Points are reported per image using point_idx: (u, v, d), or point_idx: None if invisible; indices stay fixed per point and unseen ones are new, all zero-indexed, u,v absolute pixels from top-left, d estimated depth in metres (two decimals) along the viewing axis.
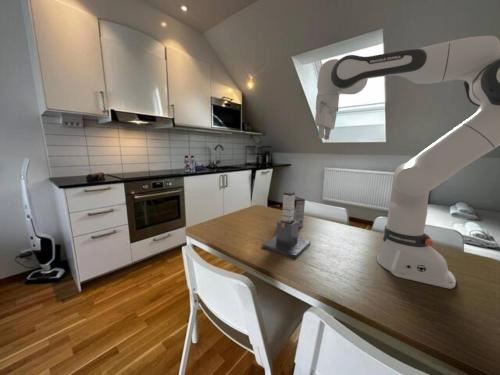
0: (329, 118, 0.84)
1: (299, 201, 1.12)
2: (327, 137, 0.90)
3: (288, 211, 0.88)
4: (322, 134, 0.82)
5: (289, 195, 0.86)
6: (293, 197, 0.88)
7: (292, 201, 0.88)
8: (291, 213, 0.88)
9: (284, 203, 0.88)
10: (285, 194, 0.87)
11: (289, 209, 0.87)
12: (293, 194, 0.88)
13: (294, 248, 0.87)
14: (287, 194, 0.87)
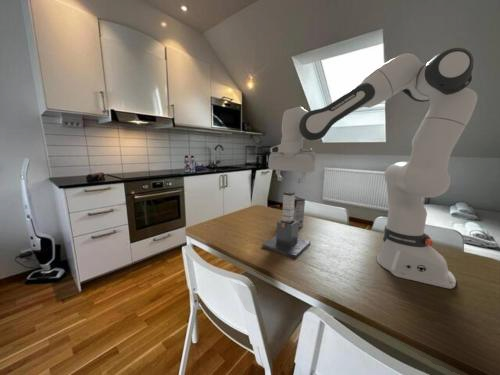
0: None
1: (299, 201, 1.12)
2: (281, 178, 0.90)
3: (288, 211, 0.88)
4: (302, 179, 0.84)
5: (289, 195, 0.86)
6: (293, 197, 0.88)
7: (292, 201, 0.88)
8: (291, 213, 0.88)
9: (284, 203, 0.88)
10: (285, 194, 0.87)
11: (289, 209, 0.87)
12: (293, 194, 0.88)
13: (294, 248, 0.87)
14: (287, 194, 0.87)
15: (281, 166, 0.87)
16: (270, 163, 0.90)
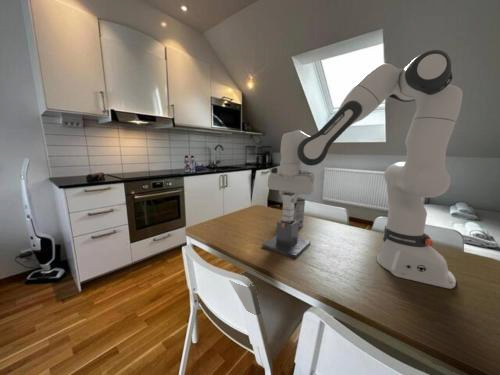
0: None
1: (299, 201, 1.12)
2: None
3: (288, 211, 0.88)
4: (296, 199, 0.87)
5: (289, 195, 0.86)
6: (293, 197, 0.88)
7: None
8: (291, 213, 0.88)
9: (284, 203, 0.88)
10: (285, 194, 0.87)
11: (289, 209, 0.87)
12: (293, 194, 0.88)
13: (294, 248, 0.87)
14: (287, 194, 0.87)
15: (280, 186, 0.88)
16: (269, 183, 0.91)
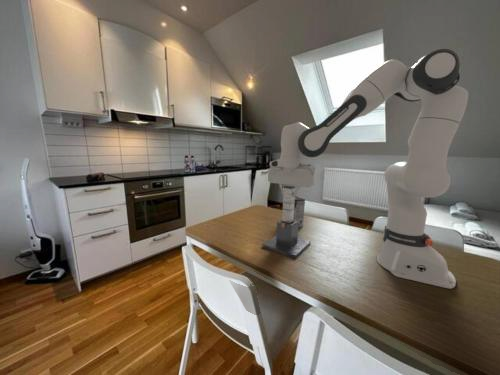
0: None
1: (299, 201, 1.12)
2: None
3: (288, 204, 0.87)
4: (296, 192, 0.87)
5: (289, 188, 0.86)
6: (293, 190, 0.87)
7: None
8: (291, 206, 0.88)
9: (284, 196, 0.88)
10: (285, 187, 0.87)
11: (289, 202, 0.87)
12: (293, 187, 0.87)
13: (294, 248, 0.87)
14: (287, 187, 0.86)
15: (280, 180, 0.88)
16: (269, 176, 0.91)
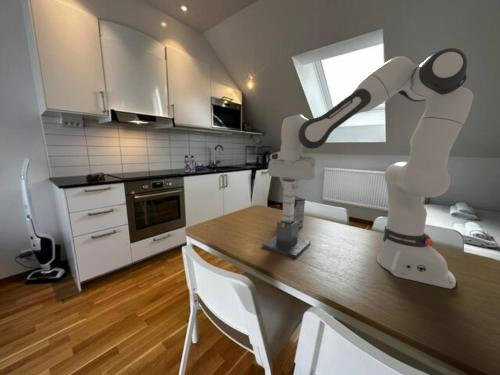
0: None
1: (299, 201, 1.12)
2: None
3: (289, 198, 0.86)
4: (297, 185, 0.86)
5: (290, 181, 0.85)
6: (294, 183, 0.87)
7: None
8: (292, 200, 0.87)
9: (285, 190, 0.87)
10: (286, 180, 0.86)
11: (290, 196, 0.86)
12: (294, 180, 0.87)
13: (294, 248, 0.87)
14: (288, 180, 0.86)
15: (280, 173, 0.87)
16: (270, 170, 0.90)
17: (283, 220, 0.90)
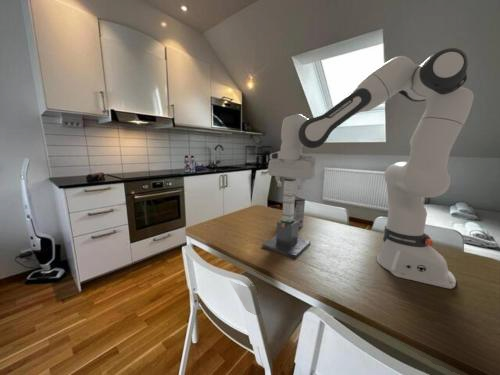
0: None
1: (299, 201, 1.12)
2: (281, 184, 0.90)
3: (289, 197, 0.86)
4: None
5: (290, 181, 0.85)
6: (294, 183, 0.87)
7: (293, 187, 0.87)
8: (292, 199, 0.87)
9: (285, 189, 0.87)
10: (286, 180, 0.86)
11: (290, 195, 0.86)
12: (294, 180, 0.86)
13: (294, 248, 0.87)
14: (288, 180, 0.86)
15: (280, 172, 0.87)
16: (270, 169, 0.90)
17: (283, 220, 0.90)
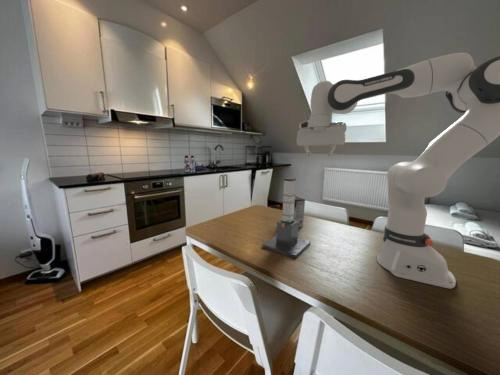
0: None
1: (299, 201, 1.12)
2: (310, 154, 0.93)
3: (289, 197, 0.86)
4: (332, 152, 0.87)
5: (290, 181, 0.85)
6: (294, 183, 0.87)
7: (293, 187, 0.87)
8: (292, 199, 0.87)
9: (285, 189, 0.87)
10: (286, 180, 0.86)
11: (290, 195, 0.86)
12: (294, 180, 0.86)
13: (294, 248, 0.87)
14: (288, 180, 0.86)
15: (310, 141, 0.90)
16: (299, 139, 0.92)
17: (283, 220, 0.90)
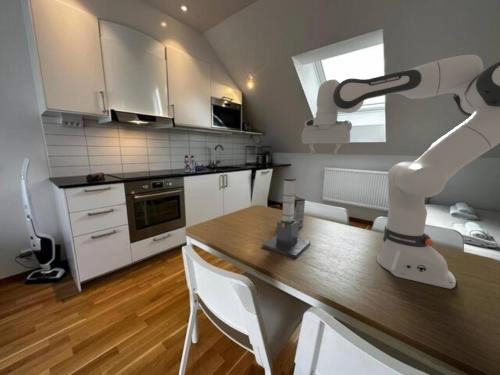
0: None
1: (299, 201, 1.12)
2: (314, 152, 0.94)
3: (289, 197, 0.86)
4: None
5: (290, 181, 0.85)
6: (294, 183, 0.87)
7: (293, 187, 0.87)
8: (292, 199, 0.87)
9: (285, 189, 0.87)
10: (286, 180, 0.86)
11: (290, 195, 0.86)
12: (294, 180, 0.86)
13: (294, 248, 0.87)
14: (288, 180, 0.86)
15: (315, 139, 0.90)
16: (304, 137, 0.93)
17: (283, 220, 0.90)
